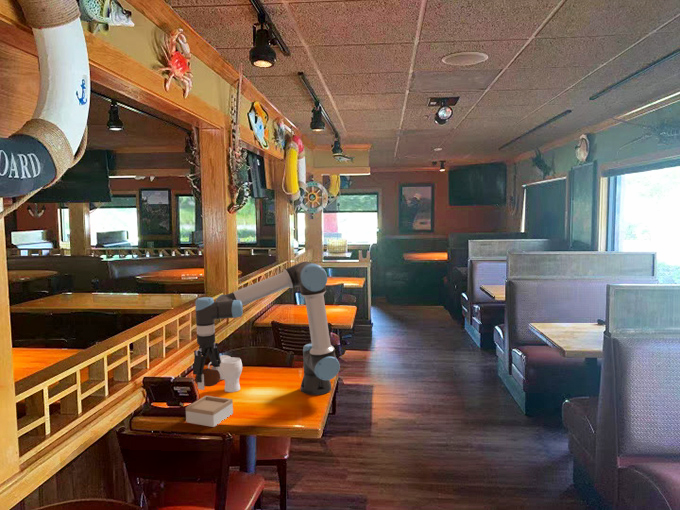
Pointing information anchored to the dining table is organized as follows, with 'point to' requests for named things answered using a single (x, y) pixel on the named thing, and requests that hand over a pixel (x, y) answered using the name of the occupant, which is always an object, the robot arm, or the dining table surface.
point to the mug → (220, 365)
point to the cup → (231, 373)
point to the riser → (209, 411)
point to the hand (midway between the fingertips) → (208, 385)
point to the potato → (210, 377)
